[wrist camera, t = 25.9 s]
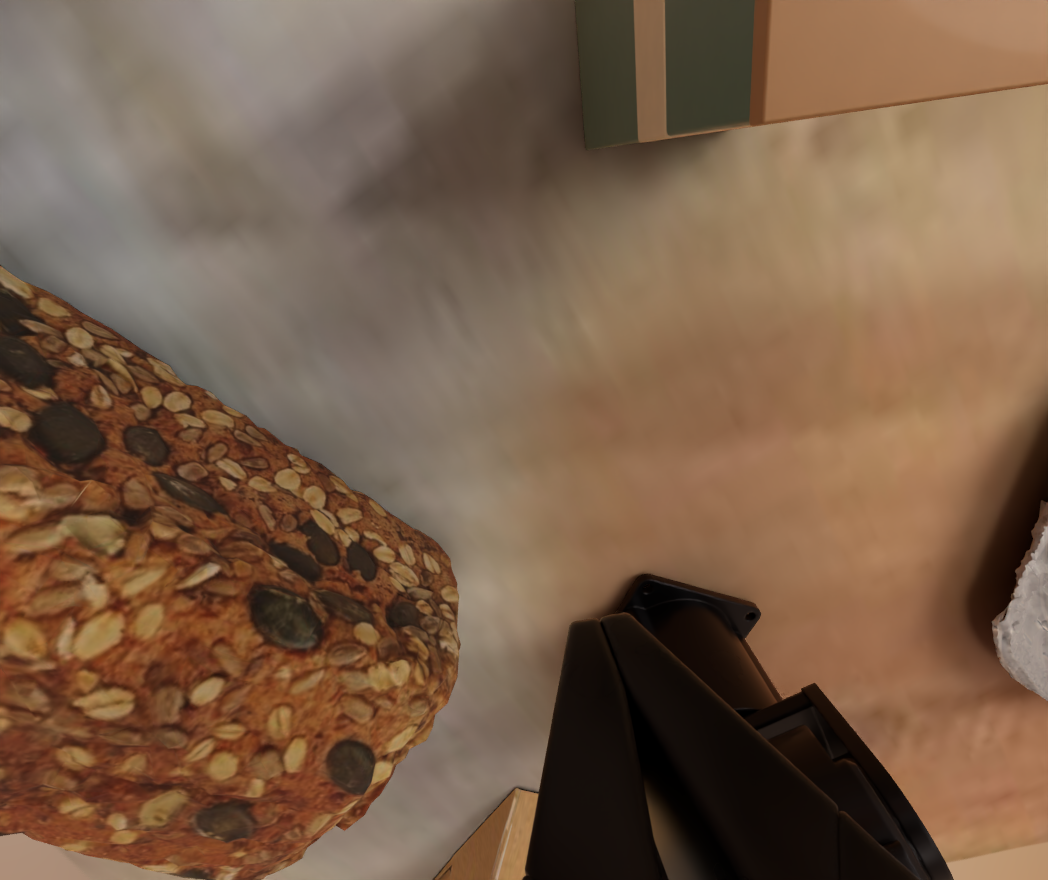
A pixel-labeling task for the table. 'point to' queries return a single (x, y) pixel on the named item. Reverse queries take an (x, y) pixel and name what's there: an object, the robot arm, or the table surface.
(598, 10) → the long rectangular block
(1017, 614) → the food plate
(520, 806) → the sandwich container
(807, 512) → the table surface
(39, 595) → the bread
